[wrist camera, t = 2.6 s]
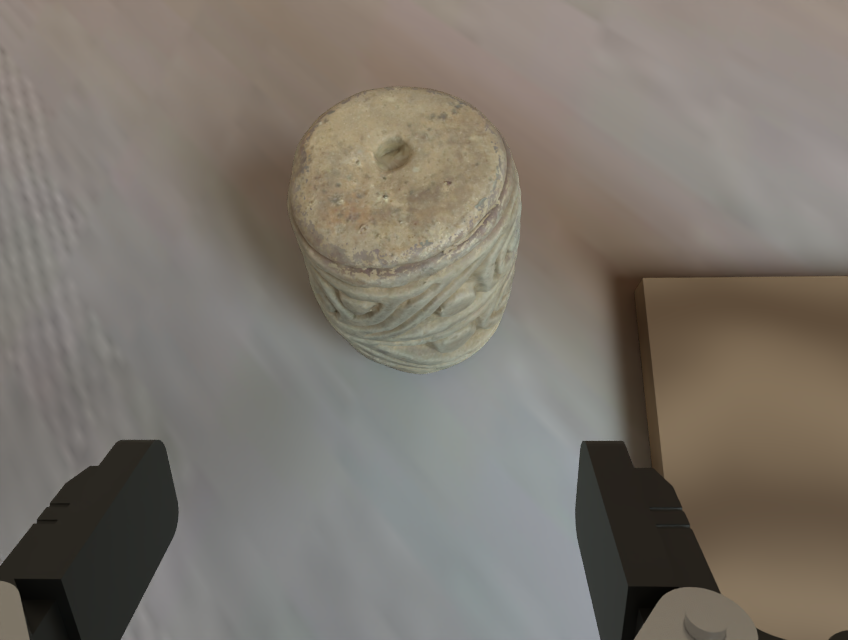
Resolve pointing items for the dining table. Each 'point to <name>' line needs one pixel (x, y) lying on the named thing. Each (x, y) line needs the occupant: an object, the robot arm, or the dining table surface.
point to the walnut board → (756, 436)
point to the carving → (407, 224)
